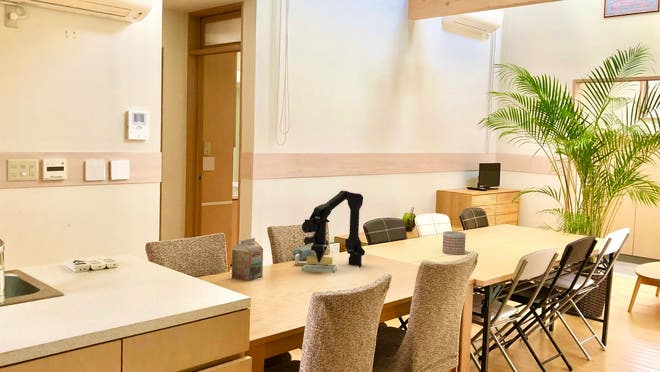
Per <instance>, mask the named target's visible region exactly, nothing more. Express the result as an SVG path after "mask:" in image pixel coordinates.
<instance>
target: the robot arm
mask: <svg viewBox="0 0 660 372" xmlns="http://www.w3.org/2000/svg"><path fill="white" fill-rule="evenodd" d="M345 200H346V201H347V205H348V208H349V235H348V237H347V238H345V240H344V242H345V243H344V247H345V250H346V252H347V254H349V256H348V265H349V266H358V268H361V267H362V266H363V263H362V262H363V261H362V259H363V256H365V254H366V251H365V249H364V247H362V241H361V238H360V237H359V234H360V233H359V230H360V228H359V227H360V225H359V224H360V209H361V208H362V206H363V203H364V196H363V195H362V193H357V192H351V191H349V190H340V191H339V192H338V193H337V194H335V195H334V196H333V197H332V198H331V199H330V200H328V201H327V202H326V203H322V204H318V206H315V207H314V208H313V211H312V213H311V215H310V217H309V218H308V219H307V218H306V219H304V221H303V223H302V224H301V229H302V232H303V233H304V234H306V233H307V234H309V233H313V235H311V236H305V237H304V238H303V243H304V246H309V244H312V245H310V246H311V250H313V251H314V252H315V256H316V257H317V260H318V262H320V261H321V258H322V257H325V256H324V255H325V253H326V251H327V248H328V246H329V244H330V243H329V240H328V239H327V235H328V234H327V223H330V220H329V219H328V217H329V216H330V215H331V212H332V211H333V210H334V209H335V208H336V207H338V206H339V205H341V203H343V202H344V201H345Z"/></svg>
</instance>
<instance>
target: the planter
mask: <svg viewBox="0 0 660 372" xmlns="http://www.w3.org/2000/svg"><path fill="white" fill-rule="evenodd" d="M466 236H467V235H466V232H463V231H456V230H455V231H453V230H452V231H451V230H449V231H448V230H447V231H443V233H442V253H443V254H445V255H453V256H462V255H465V253H466Z"/></svg>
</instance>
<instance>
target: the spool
mask: <svg viewBox="0 0 660 372" xmlns="http://www.w3.org/2000/svg"><path fill="white" fill-rule="evenodd" d="M311 246H312V245H303V246H298V247H296V248H294V249H293V251H292V256H293V259H294V260H295V255H297V254H300V256H299V262H303V261H307V256H316V252H315V251H313V250H311Z"/></svg>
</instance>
